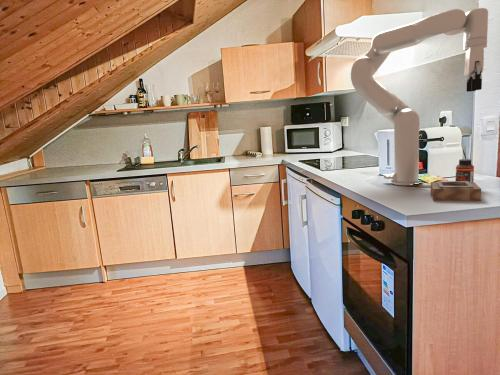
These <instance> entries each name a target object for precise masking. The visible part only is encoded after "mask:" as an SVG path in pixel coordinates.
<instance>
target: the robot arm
mask: <svg viewBox="0 0 500 375" xmlns="http://www.w3.org/2000/svg"><path fill="white" fill-rule="evenodd" d="M488 25H489V11H488V8H485V7H479V8H474V9H471V10H468V11H467V12H465V11H464V10H463V9H460V8H455V9H450V10H446V11H442V12H440V13H436V14H432V15H430V16H427V17H425V18H422V19H419V20H417V21H415V22H412V23H408V24H405V25H401V26H398V27H395V28H392V29H388V30H385V31H384V30H383V31H381V32H378V33H377V34H375V35H374V36H373V37H372V40H371V46H370V48H369V50H367V52H366V53H365V55H364V56H360V57H358V58H357V59H355V60H354V62H353V64H352V67H351V70H350V71H351V72H350V81H351V85H352V86H353V88H354V89H355V91H356V93H358V95H360V96H361V98H363V99H364V100H365V101H367V103H368V104H370V105H371V106H372V107H373V108H374V109H375V110H376V111H377V113H379V114H380V115H382V116H383V117H384V118H386V119H387V120H388V121H389V122H390V123H391V124H393V127H394V130H393V132H394V133H393V135H394V138H393V140H394V172H393V173H391V174H389V173H387V174H386V173H385V174H383V179H386V180H390V183H391V184H392V185H395V186H411V185H410V184H415V183H419V182H417V181H418V179H420V176H419V175H420V174H419V172H420V171H419V167H420V163H419V162H420V160H419V159H420V125H421V124H420V122H421V121H420V115H419V114H418V112H417V111H416V110H414V109H412V108H411V107H410V106H408V105H407V104H406V103H405V102H404V101H402V100H401V99H400V98H399V97H398V96H397V95H396V94H394V93H393V92H390V90H388V89H387V88H385V87H384V86H383V85H382V84H381V83H380V82H379V81H377V79H375V78H374V76H373V75H375V74H376V72H377V71H378V70H379V68H381V66H382V65H383V63H384V62H385V61H386V60H387V58H388V57H389V55H390V54H391V53H392V52H394V51H399V50H402V49H405V48H409V47H413V46H416V45H419V44H421V43H422V42H424V41H426V40H427V39H430V38H432V37H435V36H438V35H442V34H444V35H446V36H455V35H459V34H462V33H463V51H465V56H464V70H463V76H464V77H466V92H468V93H469V92H476V91H480V90H482V89H483V88H482V87H483V78H482V77H483V74H482V73H483V71H484V66H485V65H484V64H485V62H484V61H485V59H484V58H485V57H484V56H485V55H484V53H485V51H484V49H486V48H487V46H488Z"/></svg>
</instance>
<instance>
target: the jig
mask: <svg viewBox="0 0 500 375" xmlns="http://www.w3.org/2000/svg"><path fill="white" fill-rule="evenodd" d="M430 195H431V198H432V201H451V202H452V201H456V202H457V201H463V202H464V201H469V202H470V201H471V202H473V201H475V202H481V200H482V188H481V187H480V186H479V185H478V184H477V183H476V182H474V181H473V182H469V181H455V180H454V181H453V180H451V181H450V180H449V181H448V180H445V181H443V180H442V181H441V180H440V181H438V180H437V181H436V182H434V181H433V182H432V181H431V182H430Z"/></svg>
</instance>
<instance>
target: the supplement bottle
mask: <svg viewBox="0 0 500 375" xmlns="http://www.w3.org/2000/svg"><path fill="white" fill-rule="evenodd" d="M474 174H475V166H474V165H473V164H472V159H471V158H460V159H459V160H458V164H457V165H456V166H455V180H454V181H469V182H474V177H475V175H474Z"/></svg>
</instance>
